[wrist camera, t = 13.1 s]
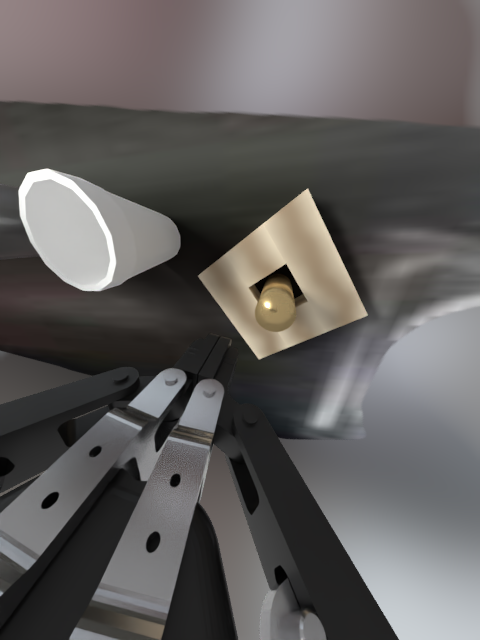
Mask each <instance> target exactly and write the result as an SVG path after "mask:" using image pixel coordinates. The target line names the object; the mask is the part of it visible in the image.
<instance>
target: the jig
mask: <svg viewBox="0 0 480 640" xmlns="http://www.w3.org/2000/svg"><path fill="white" fill-rule="evenodd" d="M285 264H287V266H288V268H289V270H290V271H291V273H292V275H293V277H294V278H295V280H296V282H297V284H298V285H299V287H300V289H301V291H302V292H303V295H301V296H299V297H297V298H295V299H294V302H295V308H296V318H295V321H294V323H293V324H292V325H291V326H290V327H289V328H288V329H286V330H284V331H280V332H271V331H268V330H265V329H264V328H262V327H261V326H260V325H259V324H258V323H257V321H256V318H255V308H256V305H257V303H258V300H259V297H260V295H261V294H260V292H259V291H258V289H257V288H256V286H255V285H254V284H255V283H257V282H258V281H260V280H261V279H263V278H264V277H266V276H268V275H269V274H271V273H272V272H274V271H275V270H277V269H279V268H280V267H282V266H283V265H285ZM198 277H199V278H200V280H201V281H202V283H203V284H204V285H205V287H206V288H207V289H208V291H209V292H210V293H211V295H212V296H213V298H214V299H215V300H216V302H217V303H218V304H219V306H220V307H221V308H222V310H223V311H224V312H225V314H226V315H227V317H228V318H229V319H230V321H231V322H232V323H233V325H234V326H235V327H236V329H237V330H238V332H239V333H240V334H241V336H242V337H243V338H244V340H245V341H246V342H247V344H248V345H249V347H250V348H251V349H252V351H253V352H254V353H255V355H256V356H257V357H258V359H261V358H263V357H266V356H268V355H271V354H273V353H276V352H278V351H281V350H283V349H286V348H288V347H291V346H293V345H296V344H298V343H301V342H303V341H306V340H308V339H311V338H313V337H316V336H318V335H321V334H323V333H326V332H328V331H331V330H333V329H336V328H338V327H341V326H343V325H346V324H348V323H350V322H353V321H355V320H358V319H360V318H363V317H365V316H368V314H367V312H366V310H365V308H364V306H363V304H362V302H361V300H360V298H359V296H358V293H357V291H356V289H355V287H354V285H353V283H352V281H351V279H350V277H349V274H348V272H347V270H346V268H345V266H344V264H343V262H342V260H341V258H340V256H339V253H338V251H337V249H336V247H335V245H334V243H333V241H332V239H331V237H330V235H329V232H328V230H327V228H326V226H325V224H324V222H323V220H322V218H321V216H320V213H319V211H318V209H317V207H316V205H315V203H314V201H313V199H312V197H311V195H310V192H309V190H308V189H306V190H305V191H304V192H302V193H301V194H300V195H299V196H297V197H296V198H295V199H294V200H292V201H291V202H290V203H289V204H287V205H286V206H285V207H284V208H282V209H281V210H280V211H279V212H277V213H276V214H275V215H274V216H272V217H271V218H270V219H269V220H267V221H266V222H265V223H264V224H262V225H261V226H260V227H259V228H257V229H256V230H255V231H254V232H252V233H251V234H250V235H248V236H247V237H246V238H245V239H243V240H242V241H241V242H240V243H238V244H237V245H236V246H235V247H233V248H232V249H231V250H230V251H228V252H227V253H226V254H225V255H223V256H222V257H221V258H220V259H218V260H217V261H216V262H215V263H213V264H212V265H211V266H210V267H208V268H207V269H206V270H205V271H203V272H202V273H201V274H199V275H198Z"/></svg>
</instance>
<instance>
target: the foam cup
mask: <svg viewBox="0 0 480 640" xmlns="http://www.w3.org/2000/svg"><path fill="white" fill-rule="evenodd" d="M18 192H19V208H20V217H21V220H22V222H23V225H24V227H25V230H26V232H27V235H28V237H29V240H30V242H31V244H32V245H33V247H34V248H35V249H36V251H37V252H38V254H39V255H40V257H41V258H42V260H43V261H44V263H45V264H46V265H47V266H48V267H49V268H50V269H51V270H52V271H53V272H55V273H56V274H57V275H58V276H59V277H60V278H61V279H62V280H63V281H64V282H66V283H68V284H70V285H72V286H75V287H77V288H79V289H81V290H83V291H101V290H105V289H108V288H111V287H115V286H118V285H120V284H122V283H123V282H125V281H126V280H127V279H129V278H131V277H133V276H135V275H137V274H140V273H142V272H144V271H146V270H148V269H150V268H152V267H155V266H157V265H159V264H161V263H163V262H165V261H167V260H169V259H171V258H173V257H174V256H175V255H177V253H178V251H179V249H180V234H179V232H178V229H177V226H176V225H175V224H174V223H173V222H172V220H171V219H170V218H168V217H166V216H164V215H162V214H160V213H158V212H155V211H153V210H151V209H148V208H146V207H143V206H141V205H138V204H136V203H134V202H131V201H129V200H126V199H124V198H121V197H119V196H117V195H114V194H112V193H109V192H107V191H104V190H103V189H102V188H100V187H98V186H96V185H94V184H92V183H90V182H88V181H86V180H84V179H82V178H79V177H75V176H72V175H68V174H65V173H61V172H58V171H54V170H51V169H43V170H38V171H34V172H29V173H27V175H26V177H25V179H24V181H23V183H22V185H21V186H20V188H19V190H18Z"/></svg>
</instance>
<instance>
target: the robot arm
mask: <svg viewBox="0 0 480 640" xmlns="http://www.w3.org/2000/svg"><path fill="white" fill-rule="evenodd" d="M19 188H20V187H15V186H10V185H5V184H0V259H12V258H24V257H37V256H40V255H39V254H38V252H37V251H36V249H35V248H34V247H33V245H32V244H31V242H30V240H29V237H28V235H27V232H26V230H25V227H24V225H23V222H22V220H21V217H20V208H19V192H18V190H19ZM230 346H231V339H230V338H226V337H222V336H221V337H220V336H218V335H214V334H211V333H209V334H208V336H207V337H206V339H205V340H204V339H198V340H196V341H194V342H193V343H192V344H191V346H190V347H189V348H188V349H187V351H186V352H185V353H184V354H183V355H182V357H181V358H180V359H179V360H178V362H177V363H176V364H175V365H174V367H173V368H171V369H167V370H164V371H162V372H161V373H160V374H158V375H157V376H139V374H138V371H137V370H136V369H134V368H131V367H122V368H118V369H115V370H111V371H108V372H105V373H102V374H98V375H95V376H92V377H89V378H85V379H82V380H79V381H76V382H72V383H69V384H66V385H63V386H59V387H56V388H53V389H50V390H46V391H43V392H40V393H37V394H33V395H30V396H27V397H24V398H20V399H17V400H14V401H11V402H8V403H4V404H1V405H0V493H1V492H4V491H5V490H8V489H10V488H11V487H13V486H15V485H17V484H19V483H21V482H23V481H25V480H27V479H29V478H31V477H33V476H35V475H37V474H39V473H41V472H43V471H45V470H46V471H45V472H44V473H43V474H42V475H40V476H38V477H36V478H34V479H32V480H30V481H28V482H27V483H25V484H23V485H21V486H19V487H17V488H16V489H14V490H12V491H10V492H8V493H6V494H4V495H3V496H1V497H0V640H238V636H237V631H236V626H235V622H234V617H233V612H232V607H231V602H230V598H229V592H228V587H227V583H226V578H225V573H224V569H223V563H222V558H221V553H220V548H219V543H218V539H217V536H216V533H215V530H214V527H213V525H212V522H211V520H210V518H209V516H208V515H207V513H206V511H205V510H204V508H203V507H202V506H201V505H200V504H199V503H200V499H201V495H202V490H203V486H204V481H205V477H206V472H207V468H208V464H209V459H210V456H211V451H212V447H213V444H214V445H216V446H217V447H218V448H219V449H221V450H222V451H223V452H224V453H225V457H226V461H227V464H228V466H229V469H230V472H231V475H232V478H233V481H234V484H235V487H236V490H237V493H238V496H239V499H240V502H241V505H242V508H243V511H244V514H245V517H246V520H247V522H248V525H249V528H250V531H251V534H252V537H253V540H254V543H255V546H256V549H257V552H258V555H259V558H260V561H261V564H262V567H263V570H264V573H265V576H266V579H267V582H268V584H269V587H270V591H269V592H268V593H267V595H266V597H265V599H264V602H263V605H262V609H261V615H260V628H259V629H260V630H259V631H260V640H399V639H398V637H397V636H396V634H395V632H394V631H393V629H392V627H391V626H390V624H389V622H388V621H387V619H386V617H385V616H384V614H383V612H382V611H381V609H380V607H379V606H378V604H377V602H376V601H375V599H374V598H373V596H372V594H371V592H370V591H369V589H368V588H367V586H366V584H365V582H364V581H363V579H362V577H361V576H360V574H359V572H358V571H357V569H356V567H355V566H354V564H353V562H352V561H351V559H350V557H349V555H348V554H347V552H346V550H345V549H344V547H343V545H342V544H341V542H340V540H339V539H338V537H337V535H336V534H335V532H334V530H333V529H332V527H331V525H330V524H329V522H328V520H327V519H326V517H325V515H324V514H323V512H322V510H321V509H320V507H319V506H318V504H317V502H316V500H315V499H314V497H313V496H312V494H311V492H310V490H309V489H308V487H307V485H306V484H305V482H304V480H303V479H302V477H301V475H300V474H299V472H298V470H297V469H296V467H295V465H294V464H293V462H292V460H291V459H290V457H289V455H288V454H287V452H286V450H285V449H284V447H283V445H282V444H281V442H280V440H279V439H278V437H277V435H276V434H275V432H274V430H273V429H272V427H271V425H270V424H269V422H268V420H267V419H266V417H265V415H264V414H263V412H262V411H261V410H260V409H259V408H258V407H257V406H255V405H253V404H242V405H240V404H238V403H237V402H235V401H234V400H233V399H232V398H231V397H230V395H229V393H228V390H229V387H230V384H231V381H232V378H233V375H234V371H235V367H236V362H237V358H238V351H237V348H233V347H230ZM107 404H108V406H106V407H104V408H101V409H99V410H97V411H94V412H92V413H89V414H87V415H84V416H82V417H79V418H77V419H73V418H75V417H78V416H80V415H83V414H85V413H87V412H90V411H92V410H95V409H97V408H100V407H102V406H105V405H107Z"/></svg>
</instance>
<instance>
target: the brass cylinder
mask: <svg viewBox="0 0 480 640" xmlns="http://www.w3.org/2000/svg"><path fill="white" fill-rule="evenodd" d="M255 318H256V321H257V323H258V324H259V325H260V326H261V327H262V328H264V329H265V330H268V331H271V332H280V331H284V330H286V329H288V328H289V327H290V326H291V325H292V324H293V323H294V321H295V318H296V308H295V302H294V296H293V290H292V285H291V281H290V279H289V278H288V277H287V276H285V275H283V274H274V275H271V276H270V277H269V278H268V279H267V280H266V282H265V284H264V287H263V290H262V292H261V295H260V297H259V300H258V303H257V305H256V308H255Z"/></svg>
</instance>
